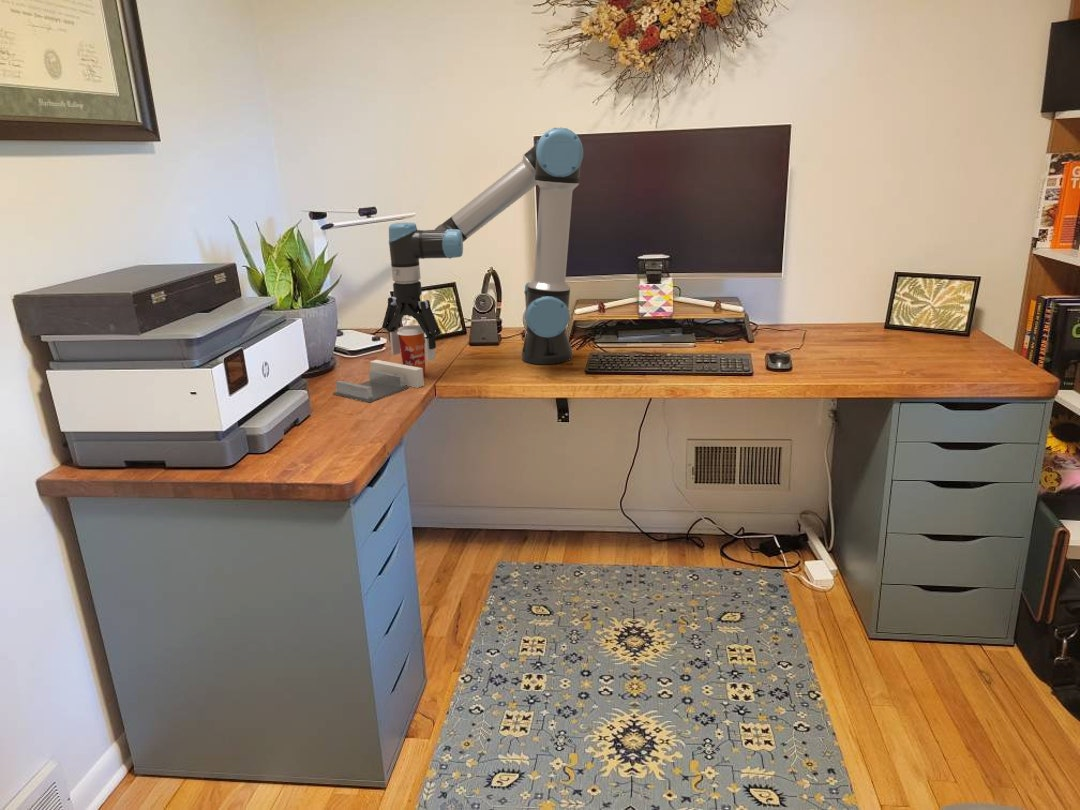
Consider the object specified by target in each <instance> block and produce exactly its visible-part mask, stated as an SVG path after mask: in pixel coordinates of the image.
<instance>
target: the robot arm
mask: <svg viewBox="0 0 1080 810" xmlns="http://www.w3.org/2000/svg"><path fill="white" fill-rule="evenodd" d="M583 159H584V146H583V144H582V140H581V139H580V137H579V136H578V135H577V133H575V132H574V131H573V130H572V129H569V128H567V127H566V128H565V127H562V126H561V127H553V128H551V129H548V130H547V131H545V132H544V133H543V134H542V135H541V136H540V138H539V139H538V141H537V142H536V143H535V144H534V145H533V146H532V147H531V148H530V149H529V150H528V151H527V152H525V153H524V154H523V155H522V159H521V161H520V162H518V164H516V165H515V166H513V167H512V168H511V169H509V170H508V171H507V172H506V173H505V174H503V175H502V176H501V177H500V178H498V179H497V180H495V182H493V183H492V184H491V185H490V186H488V187H486V189H484V190H483V191H482V192H481V193H479V194H478V195H477V196H475V197H474V198H473V199H471V200H470V201H469V202H468V203H466V204H465V205H464V206H463V207H462V208H460V209H459V210H457V211H456V212H455V213H454V214H453V215H451V216H450V217H449V218H447V219H446V220H445V221H443V222H442V223H441V224H439V225H438V226H437V227H436V228H434V229H426V230H424V229H421V230H420V229H418V227H417V224H416V223H415V222H395V223H392V224H390V225H389V226H388V246H389V255H390V265H391V275H392V281H394V282H393V284H392V289H393V296H389V297H388V298H387V307H386V310H385V314H384V318H383V321H382V326H381V327H382V329H383V330H387V332H388V340H389V343H390V350H391V351H390V353H391V355H392V356H395V355H397V354H401V348H400V341H399V335H398V334H397V332H398V327H399V325H400V323H401V322H402V320H403V318H404V316H408V317H412V319H415V321H416V322H417V325H420V327H421V328H422V330H423V331H424V335H425V337H424V349H425V362H430V361H434V360H436V353H435V352H436V350H435V349H436V347H437V345H436V337H437V336H440V335H441V334H442V332H441V329H440V327H439V324H438V322H437V320H436V318H435V315H434V313H433V311H432V309H431V307H432V306H431V302H430V299H426V300H421V295H422V294H423V293H422V282H421V281H420V280H421V269H420V260H421V259H422V260H425V259H449V260H451V259H453V258H462V256H463V253H464V242H465V241H466V240H467V239H469V238H470V237H471V236H473V235H474V234H475V233H476V232H478V231H479V230H480V229H482V228H483V227H484V226H485V225H487V224H488V223H490V222H491V221H492V220H493V219H494V218H496V217H497V216H499V214H501V213H502V212H504V211H505V210H506V209H508V208H509V207H511V205H513V204H514V203H516V202H517V201H518V200H519V199H521V198H522V197H524V195H526V194H527V193H528V192H529V191H531V190H532V189H534V188H535V187H536V186H538V188H539V198H538V199H539V200H538V213H537V228H536V244H535V259H534V274H533V279H532V280H531V281H530V282H527V283H526V284H525V286H524V295H525V298H524V301H525V323H526V335H525V338H524V339H525V340H524V344H523V346H522V350H521V360H522V361H523V362H525V363H528V364H532V363H533V364H534V365H554V364H555V363H557V364H561V363H560V362H563V363H565V362H564V361H566V362H568V361H567V360H569V359H571V358H572V359H573V349H572V346H571V343H570V340H569V338H568V337H569V336H568V333H567V329H566V328H567V326H568V324H569V322H570V319H571V317H570V316H571V315H570V310H569V308H570V307H569V306H570V296H571V295H570V293H571V287H570V286H569V284H568V283H567V282H566V277H567V262H568V251H569V239H570V238H569V237H570V226H571V215H572V214H571V213H572V205H573V204H572V201H573V191H574V190H575V189H576V188H577V187H578V186H579V185H580V174H581V165H582V162H583ZM572 359H571V360H572ZM569 361H570V360H569Z"/></svg>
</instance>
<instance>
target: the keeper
mask: <svg viewBox="0 0 1080 810" xmlns="http://www.w3.org/2000/svg"><path fill="white" fill-rule="evenodd" d="M368 377H369V380H367V381H364V382H361V383H354V382H349V381H344V380H338V381H335V386H336V391H334V392H333V393H332V394H333V396H334V395H335V396H338V395H339V396H338V397H342V396H344V397H343V398H346V397H348V398H347V399H351V398H352V400H355V399H357V400H356V401H360V400H361V401H360V402H364V401H365V403H368V402H371V403H373V402H376V401H378V400H377V399H379V400H381V399H380V398H382V399H384V398H386V397H385V396H387V397H389V396H388V395H390V396H392V395H395V394H398V393H400V392H399V391H401V390H403V391H405V390H404V389H406V390H408V389H407V388H409V389H410V387H409V386H405V383H404V376H402V375H397V374H392V373H386V372H381V371H376V370H371V369H370V370H369V371H368ZM397 392H398V393H397ZM401 392H402V391H401ZM394 393H395V394H394ZM391 394H392V395H391ZM383 397H384V398H383ZM375 400H376V401H375ZM372 401H373V402H372Z"/></svg>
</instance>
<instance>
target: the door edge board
mask: <svg viewBox="0 0 1080 810" xmlns="http://www.w3.org/2000/svg"><path fill="white" fill-rule="evenodd" d="M369 366H370V371H371V370H376V371H381V372H386V373H392V374H397V375H402V376H404V383H405V385H407V386H408V387H409V386H411V387H410V388H414V387H415V388H414V389H419V387H420V388H422V387H421V386H423V387H425V382H424V377H423V368H419V367H414V366H408V365H403V363H402V364H401V363H397V362H393V361H392V362H390V361H384V360H380V359H375V360H371V361H369Z"/></svg>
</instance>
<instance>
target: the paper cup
mask: <svg viewBox="0 0 1080 810" xmlns="http://www.w3.org/2000/svg"><path fill="white" fill-rule="evenodd" d="M397 331H398V332H397V334H398V335H399V342H400V354H401V359H402V361H401V362H402V364H403V365H408V366H414V367H419V368H423V378H424V377H425V376H426V348H425V333H424V331H423V330H422V328H421V327H420V325H419V324H409V325H403V326H400V327H399V328H397Z"/></svg>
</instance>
